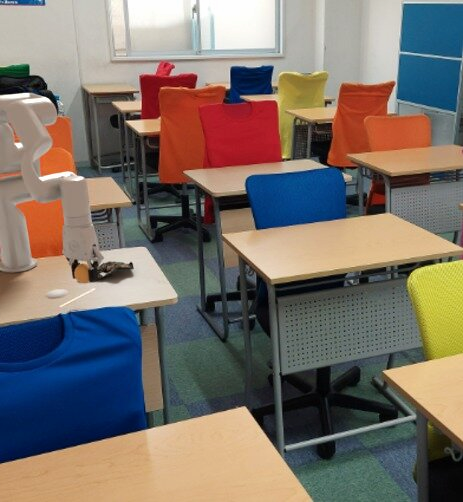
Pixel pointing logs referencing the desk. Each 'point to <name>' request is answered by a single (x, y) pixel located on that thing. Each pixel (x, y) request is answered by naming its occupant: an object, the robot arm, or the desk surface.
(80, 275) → the ball
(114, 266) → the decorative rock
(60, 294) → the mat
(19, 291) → the desk surface
